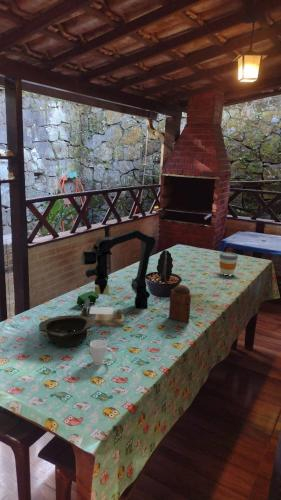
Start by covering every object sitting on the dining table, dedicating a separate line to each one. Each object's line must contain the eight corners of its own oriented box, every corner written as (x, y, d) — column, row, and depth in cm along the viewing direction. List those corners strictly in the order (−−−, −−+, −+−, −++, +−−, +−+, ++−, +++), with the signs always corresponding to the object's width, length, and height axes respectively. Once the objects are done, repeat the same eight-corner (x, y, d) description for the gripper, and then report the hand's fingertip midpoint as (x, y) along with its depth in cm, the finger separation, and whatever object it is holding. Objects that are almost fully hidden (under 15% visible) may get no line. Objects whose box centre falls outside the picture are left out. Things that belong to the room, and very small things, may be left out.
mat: (113, 308, 195) (113, 307, 195) (112, 315, 187) (112, 314, 186) (91, 308, 195) (91, 307, 195) (89, 315, 186) (89, 313, 186)
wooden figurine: (192, 319, 186) (195, 286, 182) (187, 324, 181) (190, 289, 176) (171, 314, 192) (173, 281, 187) (166, 318, 186) (168, 284, 182)
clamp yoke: (89, 316, 184) (89, 299, 182) (86, 325, 174) (86, 308, 171) (85, 316, 184) (85, 299, 182) (83, 325, 174) (83, 308, 171)
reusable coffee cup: (238, 273, 265) (240, 253, 261) (232, 278, 255) (234, 257, 251) (221, 270, 272) (223, 251, 268) (215, 274, 261) (217, 254, 258)
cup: (94, 356, 148) (94, 337, 146) (117, 361, 145) (117, 343, 143) (86, 364, 142) (86, 345, 140) (109, 370, 138) (109, 351, 137)
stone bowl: (70, 358, 145) (68, 336, 143) (27, 344, 159) (24, 324, 157) (107, 334, 166) (106, 314, 164) (66, 323, 179) (65, 305, 177)
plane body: (124, 319, 183) (124, 308, 181) (124, 325, 176) (124, 314, 175) (80, 318, 182) (80, 306, 181) (78, 324, 175) (78, 312, 174)
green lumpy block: (85, 314, 197) (83, 303, 191) (77, 309, 200) (75, 298, 194) (100, 301, 204) (99, 290, 198) (93, 296, 207) (91, 285, 201)
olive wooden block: (109, 291, 190) (109, 284, 189) (108, 294, 186) (108, 287, 185) (95, 291, 190) (95, 284, 189) (94, 294, 186) (94, 286, 185)
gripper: (88, 257, 193) (88, 285, 197) (84, 268, 175) (84, 298, 179) (109, 258, 193) (109, 286, 197) (107, 268, 175) (106, 299, 179)
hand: (102, 292), depth 188 cm, fingers closed on olive wooden block, 4 cm apart
